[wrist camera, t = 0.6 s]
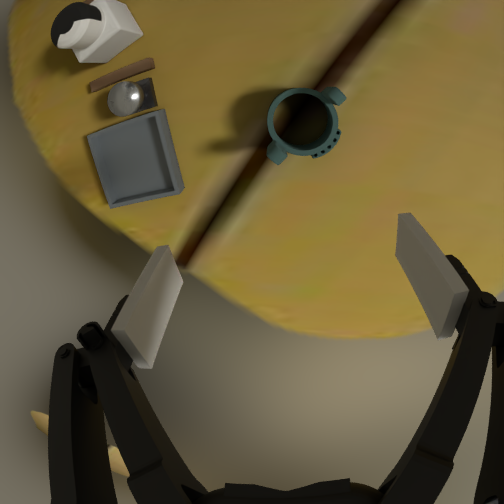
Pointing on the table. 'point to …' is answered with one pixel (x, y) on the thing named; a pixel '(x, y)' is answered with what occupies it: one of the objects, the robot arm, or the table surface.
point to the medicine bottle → (95, 30)
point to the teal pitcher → (318, 147)
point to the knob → (132, 97)
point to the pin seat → (121, 71)
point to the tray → (137, 160)
